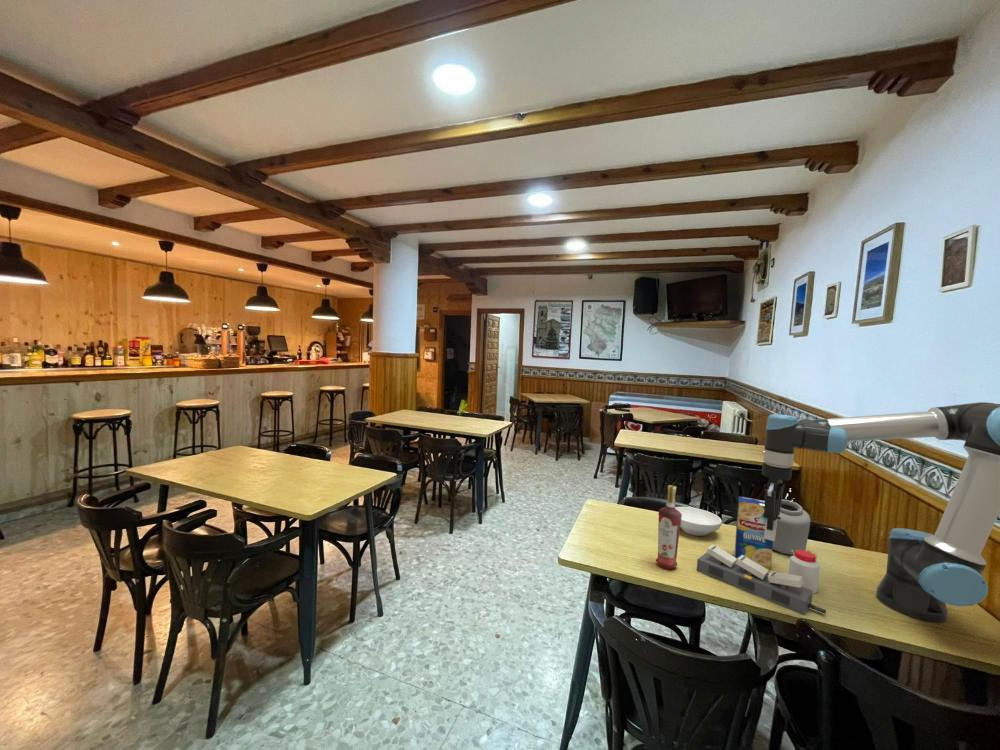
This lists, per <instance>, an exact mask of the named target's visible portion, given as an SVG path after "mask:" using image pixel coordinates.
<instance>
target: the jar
mask: <svg viewBox="0 0 1000 750" xmlns="http://www.w3.org/2000/svg"><path fill="white" fill-rule="evenodd" d="M791 489H792V488H789V492H790V493H791V492H792V490H791ZM788 496H789V493H786V496H785V499H783V498H782V501H781V508H780V515H778V517H781V519H780V520H779V519H777V528H776V538H775V541H773V547H772V550H774V551H775V552H778V553H781V554H783V555H790V556H793V555H795V550H805V551H806V550H807V544H808V540H809V539H808V538H809V533H810V526H811V516H810V515H809V514H808V513H809V512H807V511H805V510H804V509H803V507H802V506H801V505H800V504H799V503H797V502H795V501H794V500H793V499H791V500H789V499H787V497H788Z"/></svg>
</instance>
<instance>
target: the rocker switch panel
mask: <svg viewBox="0 0 1000 750" xmlns="http://www.w3.org/2000/svg"><path fill="white" fill-rule="evenodd" d="M696 571H697V572H700V573H701V572H702V573H701V574H704V575H706V574H707V575H706V576H709V577H711V578H713V577H714V578H713V579H716V580H719V581H721V582H723V583H726V584H729V586H733V587H735V586H736V588H738V589H740V588H741V590H742V589H743V590H742V591H745V592H747V593H750V594H752V595H754V596H758V597H760V598H762V599H764V600H766V601H769V602H771V603H775V604H776V605H779V606H782V607H783V608H786V609H788V610H791V611H793V612H796V613H798V614H799V615H800V614H801V615H802V616H805V615H806V614H807V612H808V610H809V609H811V610H814V611H817V612H819V613H821V614H823V615H826V614H827V610H826V609H825V608H822V607H820V606H817V605H815V604H812V600H813V593H812V592H813V590H810V589H807V588H804V587H802V586H801V587H800V588H799V587H793V586H788V585H782V584H776V583H770V582H769V580H768V575H769V574H770V573H768V574H767V576H766V577H765V578H764V579H763V580H762V579H761V578H759V577H757V576H756V575H754V574H752V573H751V572H749V571H747V570H746V569H744V568H742V567H741V566H739V565H737V564H734V565H733V566H732V567H729V566H728V565H726V564H724V563H723V562H721V561H719V560H718V559H716V558H715V557H713V556H711V555H710V554H708V553H707V552H705V553H704V554H702V555H701V556H700V557H698V558H697V563H696Z"/></svg>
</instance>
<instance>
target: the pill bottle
mask: <svg viewBox="0 0 1000 750" xmlns="http://www.w3.org/2000/svg"><path fill="white" fill-rule="evenodd" d="M788 568H789V569H788V574H791V575H798V576H803V581H804V583H803V584H802V587H804V588H807V589H810V590H813V592H812V594H817V593H818V591H819V583H820V582H819V581H820V572H821V571H820V570H821V564H820V563H819V562H818V561H817V555H816V554H815V553H813V552H811V551H807V550H806V549H805V550H795V555H790V558H789V566H788Z"/></svg>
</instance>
